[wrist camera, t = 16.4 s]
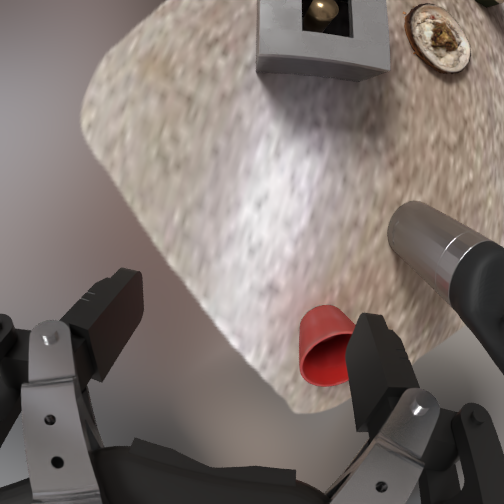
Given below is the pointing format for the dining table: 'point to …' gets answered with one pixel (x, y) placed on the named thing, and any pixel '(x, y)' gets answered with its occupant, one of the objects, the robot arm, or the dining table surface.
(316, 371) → the flower pot
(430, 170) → the dining table surface
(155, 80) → the dining table surface
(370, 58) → the box
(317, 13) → the brown glossy cylinder
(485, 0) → the wine bottle
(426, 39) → the plate of food
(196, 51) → the dining table surface
